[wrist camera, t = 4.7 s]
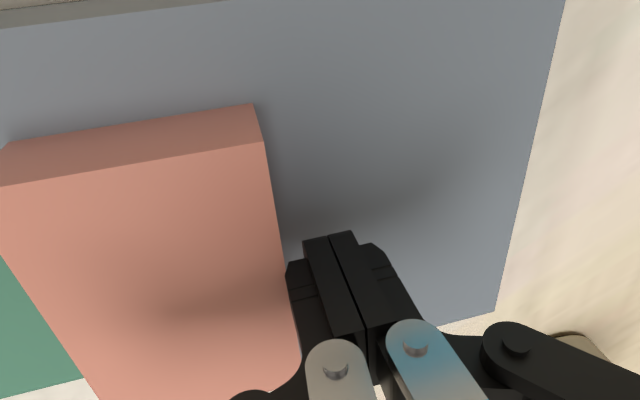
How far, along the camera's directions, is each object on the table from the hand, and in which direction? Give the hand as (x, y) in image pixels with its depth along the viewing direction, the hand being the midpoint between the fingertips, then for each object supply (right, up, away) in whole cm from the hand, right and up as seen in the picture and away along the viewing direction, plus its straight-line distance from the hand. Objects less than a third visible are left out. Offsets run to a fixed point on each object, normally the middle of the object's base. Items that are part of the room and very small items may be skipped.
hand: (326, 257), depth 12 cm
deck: (-1, +3, +4) cm, 6 cm away
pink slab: (-4, -1, 0) cm, 4 cm away
